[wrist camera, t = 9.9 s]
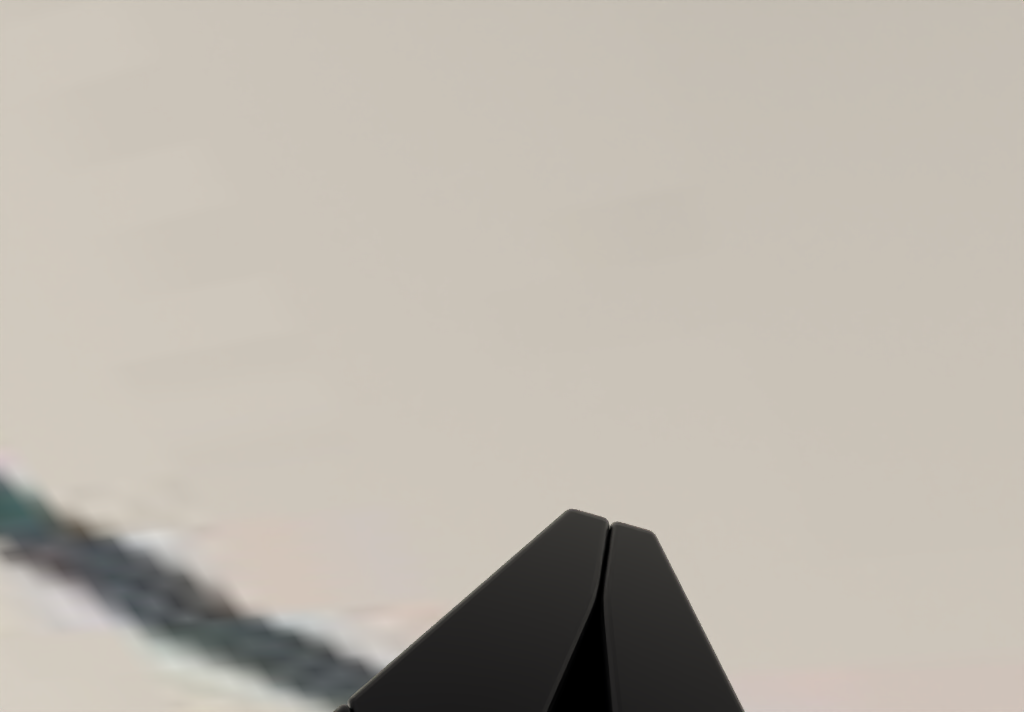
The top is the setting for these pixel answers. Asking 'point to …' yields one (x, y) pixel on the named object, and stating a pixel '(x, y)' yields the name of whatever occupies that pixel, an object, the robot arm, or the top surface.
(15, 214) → the top surface
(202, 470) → the top surface
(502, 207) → the top surface
